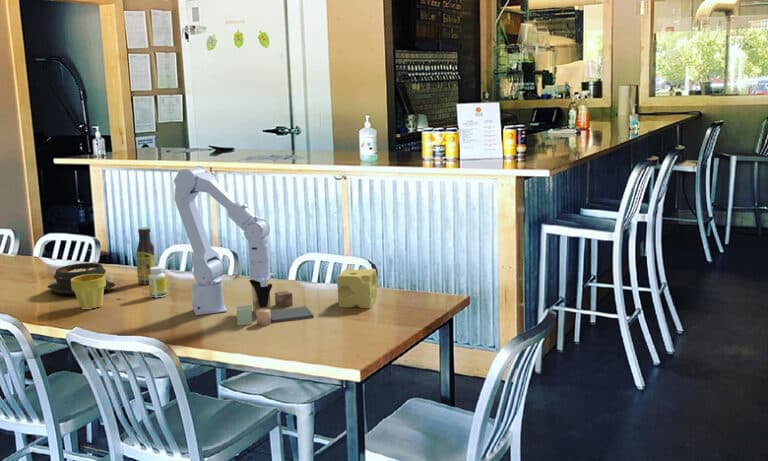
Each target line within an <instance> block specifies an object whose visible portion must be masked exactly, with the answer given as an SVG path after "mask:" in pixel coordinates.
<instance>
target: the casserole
mask: <svg viewBox="0 0 768 461" xmlns="http://www.w3.org/2000/svg"><path fill="white" fill-rule="evenodd" d="M106 272H107V269H105V268H104V266H103V264H101V263H96V262H82V263H74V264H73V263H72V264H69V265H64V266H61V267H59V268H57V269H56V270H55V273H54V275H53V277H52V278H54V280H55V281H56V282H54V283H50V284H48V285H47V289H51V290H52V291H53V292H55V293H60V294H64V293H65V294H64V295H68V294H75V292H74V291H73V290H72V287H71V279H72V278H74V277H77V276H81V275H87V274H103V275H105V273H106ZM115 286H116V283H114V282H111V281H109V280H107V279H106V286H105V287H104V291H106V290H109V289H112V288H113V287H115Z"/></svg>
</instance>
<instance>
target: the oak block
mask: <svg viewBox="0 0 768 461" xmlns="http://www.w3.org/2000/svg"><path fill="white" fill-rule="evenodd" d="M251 294H252V296H251V297H252V307H253V308H252V309H253V310H252V311H253V312H254V314H255V315H256V316H257V314H256V311H257V310H259V309H270V311H271V310H272V307H271V306H272V304H271V292H270V293H269V298H268V305H267V307H260V306H259V302H258V297H257V294H256V291H255V289H254V287H253V286H252V285H251Z"/></svg>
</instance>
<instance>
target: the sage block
mask: <svg viewBox="0 0 768 461" xmlns="http://www.w3.org/2000/svg"><path fill="white" fill-rule="evenodd" d="M252 311H253V310H252V305H242V306H240V305H239V306H237V307H236V321H237V326H245V325H247V326H249V325H253V313H252Z"/></svg>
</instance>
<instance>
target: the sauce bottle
mask: <svg viewBox="0 0 768 461" xmlns="http://www.w3.org/2000/svg"><path fill="white" fill-rule="evenodd" d="M137 229H138V231H137V233H138V237H139V239H138V240H139V241H138V245H137V249H136V255H135V256H136V269H137V271H136V273H137V281H138V284H140V285H143V284H144V285H149V275H150V274H151V273H150V268H151V267H156V254H155V246H154V244H153V243H152V241H151V228H150V227H146V226H145V227H140V228H137Z"/></svg>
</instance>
